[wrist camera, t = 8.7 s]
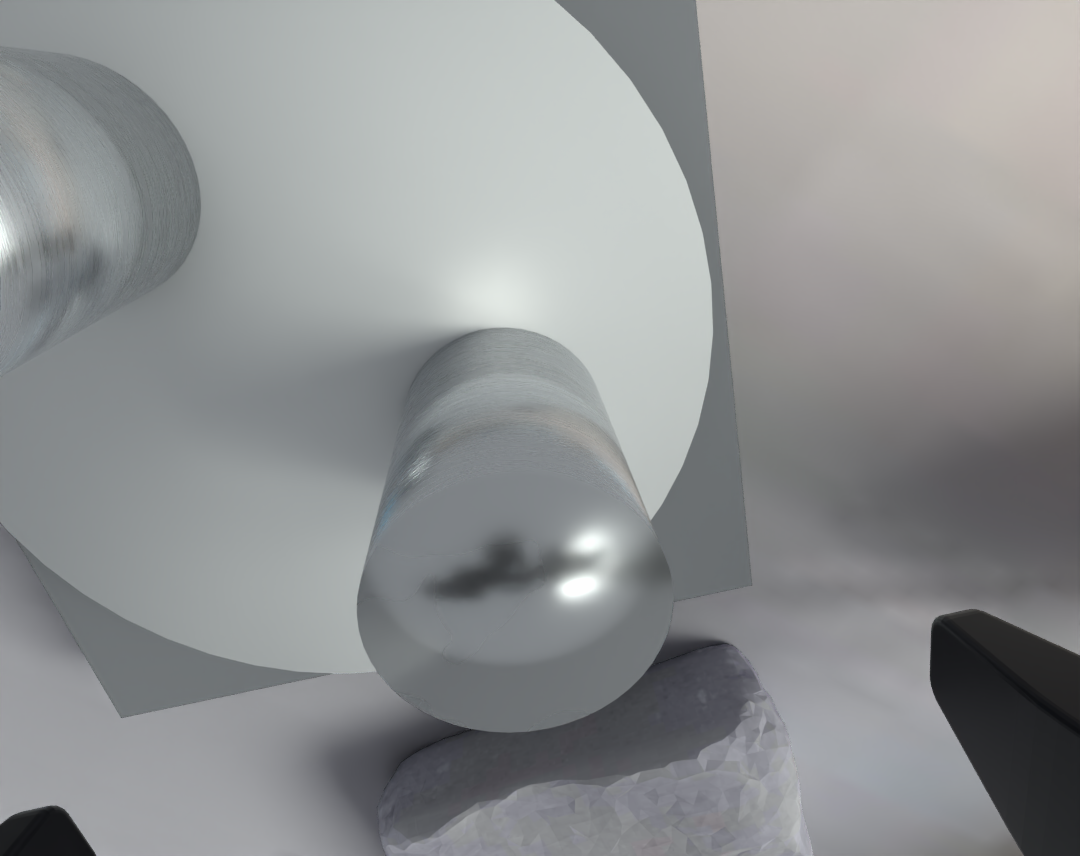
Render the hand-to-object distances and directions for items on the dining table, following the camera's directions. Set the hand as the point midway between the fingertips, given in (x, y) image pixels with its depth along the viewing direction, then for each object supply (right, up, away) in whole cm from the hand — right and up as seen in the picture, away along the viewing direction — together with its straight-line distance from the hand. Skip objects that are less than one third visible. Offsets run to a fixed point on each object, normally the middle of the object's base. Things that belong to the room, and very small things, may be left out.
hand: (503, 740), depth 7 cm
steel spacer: (0, +3, +7) cm, 8 cm away
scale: (-4, +6, +9) cm, 12 cm away
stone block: (+3, -9, +17) cm, 19 cm away
